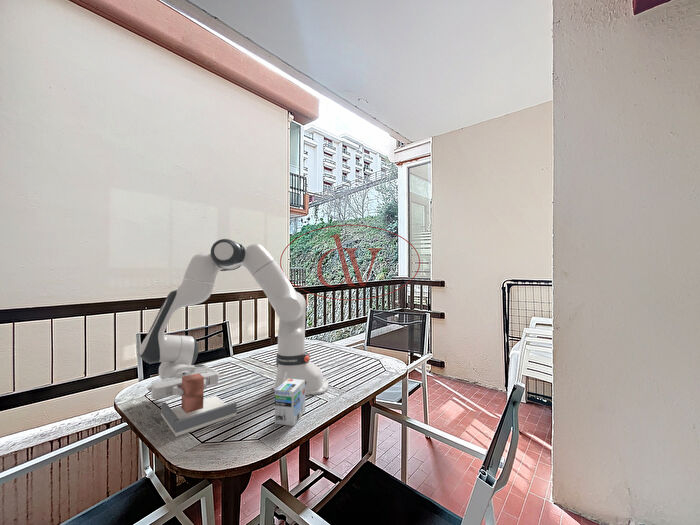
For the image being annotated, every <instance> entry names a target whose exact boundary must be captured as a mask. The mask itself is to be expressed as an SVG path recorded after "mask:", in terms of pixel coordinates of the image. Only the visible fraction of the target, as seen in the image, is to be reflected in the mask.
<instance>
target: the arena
mask: <svg viewBox="0 0 700 525" xmlns="http://www.w3.org/2000/svg"><path fill="white" fill-rule="evenodd" d="M160 405H161V406H160V407H161V408H160V416H161V417H162V419H163V421H164V422H165V423H166V425H167V426H168V428H169V429H170V430H171V432H172V433H173V434H174V436H175V437H178V436H181V435H184V434H187V433H191V432H192V431H196V430H198V429H202V428H205V427H207V426H210V425H213V424H216V423H218V422H222V421H225V420H226V419H227V420H228V419H231V418H232V417H236V416H237V413H238V412H237V402H231V403H228V404H227V403H225V402H224V401H223V400H222V399H221V398H219V397H218V396H217V395H214V396H211V397H207V398H203V409H199V410H196V411H193V412H189V413H185V411H184V410H183V409H182V408H181V406H182V405H180V406H177V407H173V408H171V407H170V406H169V404H168V403H167V402H161V404H160Z"/></svg>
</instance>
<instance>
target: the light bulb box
mask: <svg viewBox="0 0 700 525" xmlns="http://www.w3.org/2000/svg"><path fill="white" fill-rule="evenodd" d="M305 412H306V395H305V380H298V379H287V380H286V381H285V382H283V383H282V384H281V385H280V386H279V387H278V388H277V389H275V390H274V425H282V426H288V427H289V426H291V427H294V426H295V425H296V424H297V423H298V421H299V420H300V418H301V417H302V416H303V415H304V414H305Z"/></svg>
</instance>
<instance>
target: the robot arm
mask: <svg viewBox="0 0 700 525" xmlns="http://www.w3.org/2000/svg"><path fill="white" fill-rule="evenodd" d="M277 262H278V261H276V259H275V258H274V257H273V256H272V255H271V254H270V253H269V251H267V249H266V248H265V247H264V246H262V245H261V244H260V243H252V244H249V245H247V246H244V245H243V244H241V243H239V242H237V241H234V240H232V239H228V238H222V239H218V240H216V241H215V242H214V243H213V244H212V246H211V248H210V253H209V254H208V253H197V254H195V255H194V256H192V258H191V259H190V261H189V263H188V265H187V268H186V270H185V272H184V276H183V280H182V281H181V284H180V286H178V288H177V289H175V290H172V291H170V292H169V294H167V296H166V298H165V299H164V301H163V303H162V305H161V307H160V309H159V311H158V312H157V315H156V316H155V318H154V321H153V323H152V325H151V327H150V328H149V330H148V332H147V334H146V336H145V337H144V338H143V341H142V342H141V344H140V347H139V352H138V353H139V354H138V355H139V357H140V358H141V359H142V360H143V361H144V362H145V363H147V364H153V363H154V364H155V363H156V364H157V363H160V365H159V366H158V375H159V378H160V379H159V380H156V381H154V382H152V383H151V385H148V386H147V388H146V389H147V391H148V392H151V393H150V395H151V397H152V399H153V400H159V399H163V398H167V397H170V396H179V397H180V396H181V397H182V395H185V389H184V388H182V377H183V376H188V375H192V374H197V373H199V374H201V375H202V376H203V377H204V391H205V390H207V387H209V386H214V385H217V384H218V383H219V381H220V373H219V372H218V370H216V369H214V368H212V367H208V366H209V365H207V364H195V362H196V361H197V358H198V354H199V352H200V351H199V344H198V342H197V340H196V338H195V337H194V336H192V335H191V336H190V335H176V334H175V335H174V334H173V335H172V334H165V331H166V329H167V326H168V324H169V323H170V321H171V319H172V316H173V315H174V313H176V311H178V310H179V309H181V308H185V307H189V306H196V305H198V304H202V303H204V302H206V301H207V300H208V299H209V298H211V295H212V292H213V290H214V285H215V282H216V278H217V275H218V273H219V272H226V271H234V270H237V269H239V268H240V267H242V266H243V267H244V268H245V269H247V271H248V272H249V273H250V274H251V276H252V277H253V278H254V280H255V282H256V284H258V285H259V287H260V288H261V289H262V291H263V293H264V294H265V296H266V299H267V300H268V302H269V303H270V305H271V307H272V308H273V310H274V311H275V313H276V316H277V317H278V319H279V320H278V329H277V353H276V357H275V363H276V376H275V381H274V383H273V384H274V385H273V388H272V389H273V390H274V391H275V389H277V388H278V387H279V386H280V385H281V384H282V383H283V382H285V381H286V380H287V379H298V380H305V396H308V395H309V396H310V394H311V395H322V394H324V393H326V392H327V391H328V389H329V381H328V380H327V378H324V376H323V371H322V369H321V368H320V367H318V366H317V365H316V364H314V363H313V362H312V361H310V358H311V357H310V356H311V355H310V352H307V351H305V350H306V345H305V344H306V339H305V338H306V336H305V334H306V316H307V314H306V309H307V306H306V305H307V304H306V303H307V301H306V299H305V297H304V295H303V294H301V293H300V292H298V291H296V289H295V288H294V287H293V285H292V284H291V281H290V279H289V278H288V277H287V275H286V274H285V272H284V270H283V269H282V268H281V267H280V265H279V264H278V263H277ZM194 364H195V365H194ZM326 390H327V391H326ZM321 393H322V394H321Z"/></svg>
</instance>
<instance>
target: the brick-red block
mask: <svg viewBox="0 0 700 525" xmlns="http://www.w3.org/2000/svg"><path fill="white" fill-rule="evenodd" d="M182 388H184V389H185V395H182V396H181V405H180V406H181V408H182V409H183V410H184V411H185V413H189V412H193V411H196V410H199V409H203V400H204V395H205V394H204V392H205V390H204V377H203V376H202V375H201V374H199V373H197V374H192V375H188V376H183V377H182Z"/></svg>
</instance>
